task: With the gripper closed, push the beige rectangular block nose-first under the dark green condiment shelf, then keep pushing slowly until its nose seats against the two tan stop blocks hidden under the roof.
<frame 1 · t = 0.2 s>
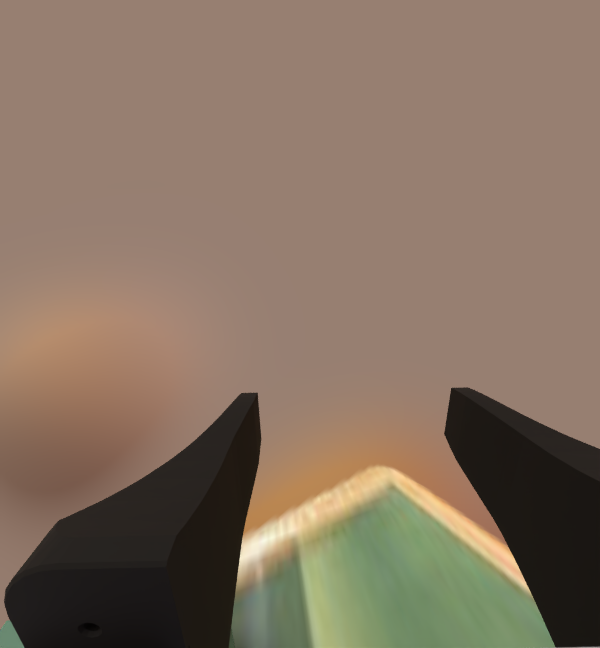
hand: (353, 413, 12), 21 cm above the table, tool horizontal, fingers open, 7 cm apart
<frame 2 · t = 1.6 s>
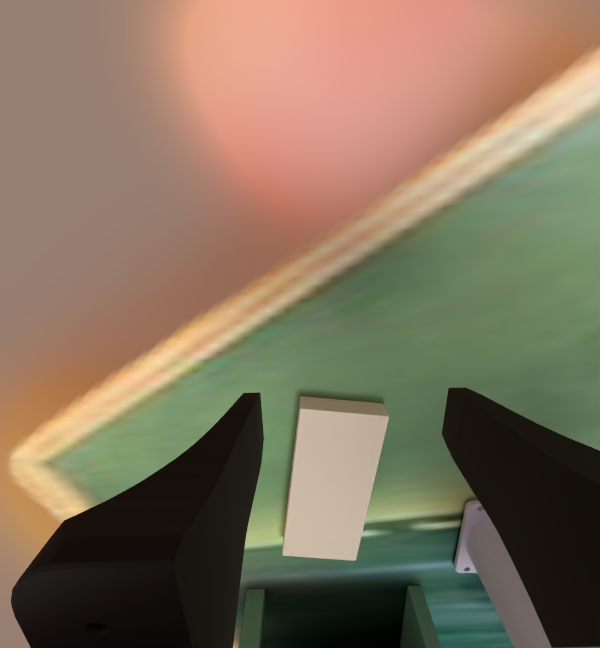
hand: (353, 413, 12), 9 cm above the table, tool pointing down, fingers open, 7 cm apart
beige rectangular block: (328, 471, 25), on the table
shelf: (333, 631, 31), on the table
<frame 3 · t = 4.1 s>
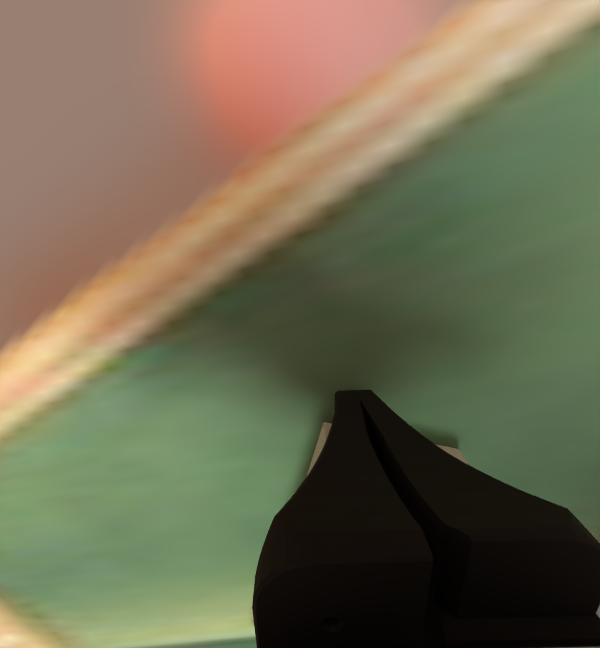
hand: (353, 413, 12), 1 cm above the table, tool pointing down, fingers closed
beige rectangular block: (345, 545, 16), on the table, touching gripper
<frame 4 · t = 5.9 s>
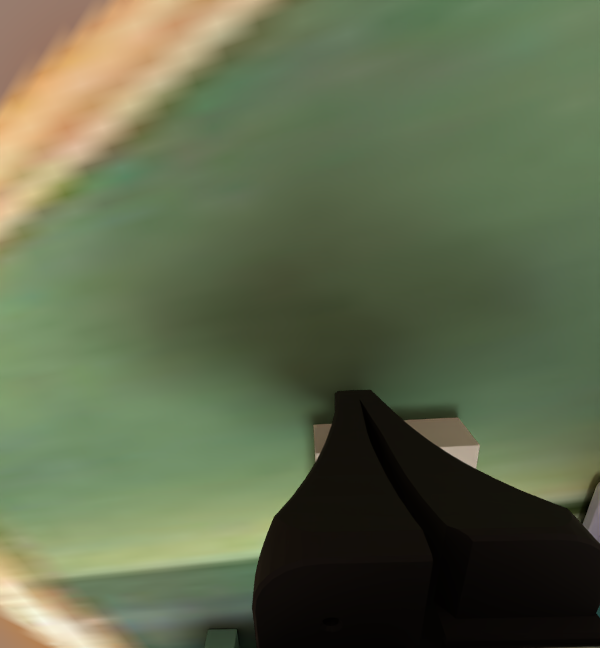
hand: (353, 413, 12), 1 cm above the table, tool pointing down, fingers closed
beige rectangular block: (379, 534, 16), on the table, touching gripper
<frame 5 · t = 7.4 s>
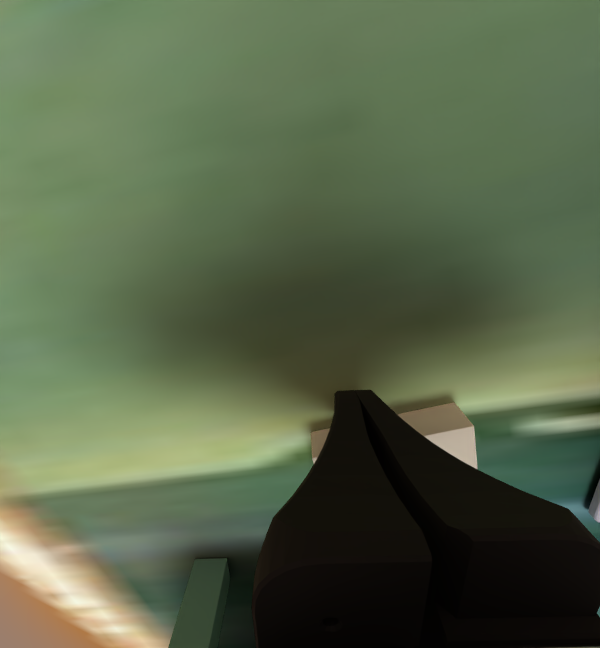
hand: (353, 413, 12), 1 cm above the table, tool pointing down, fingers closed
beige rectangular block: (401, 526, 16), on the table
shelf: (352, 635, 18), on the table
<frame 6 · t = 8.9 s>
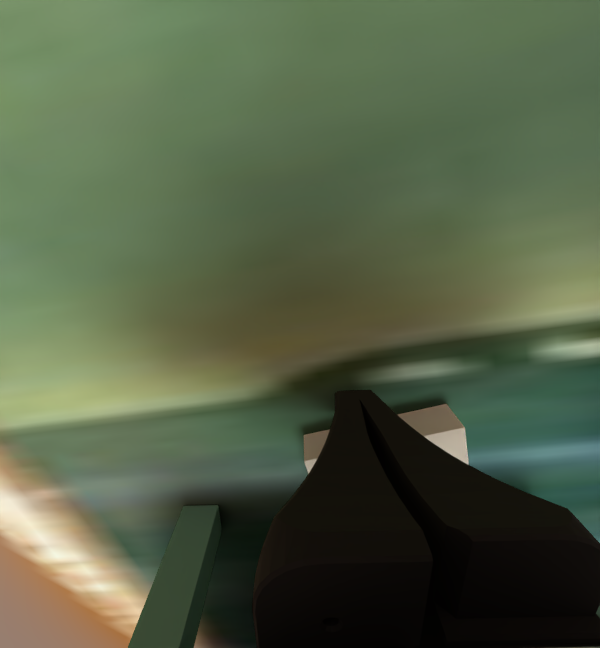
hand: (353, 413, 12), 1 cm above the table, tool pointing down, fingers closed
beige rectangular block: (396, 527, 16), on the table
shelf: (352, 594, 17), on the table
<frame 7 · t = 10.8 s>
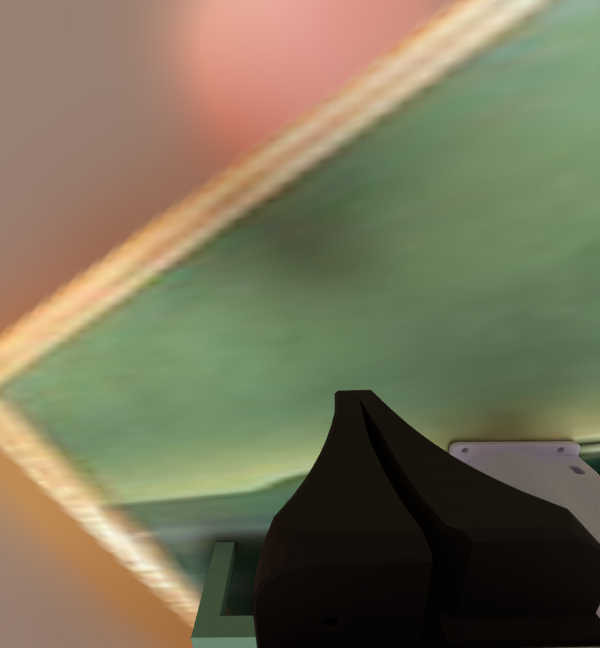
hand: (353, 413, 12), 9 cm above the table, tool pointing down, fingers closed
shelf: (308, 591, 29), on the table
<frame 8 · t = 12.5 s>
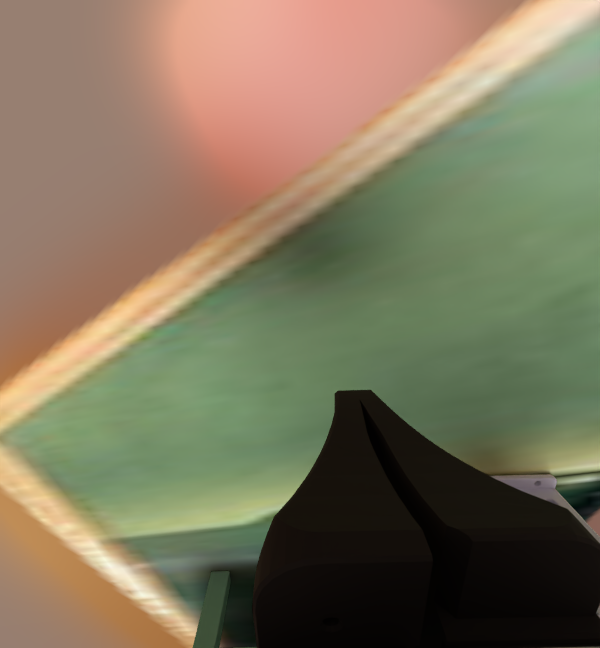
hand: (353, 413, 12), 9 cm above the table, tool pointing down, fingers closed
shelf: (302, 615, 30), on the table
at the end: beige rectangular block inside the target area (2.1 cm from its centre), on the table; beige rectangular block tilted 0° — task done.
